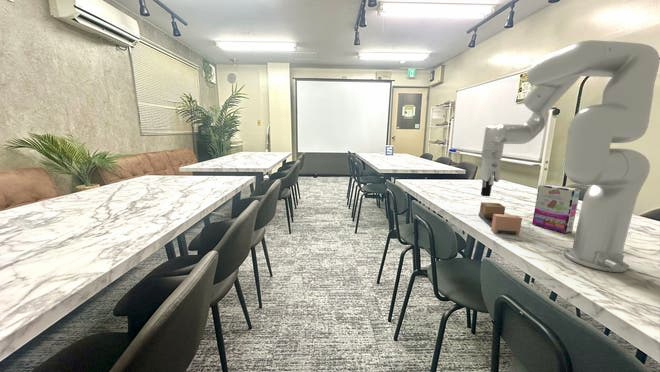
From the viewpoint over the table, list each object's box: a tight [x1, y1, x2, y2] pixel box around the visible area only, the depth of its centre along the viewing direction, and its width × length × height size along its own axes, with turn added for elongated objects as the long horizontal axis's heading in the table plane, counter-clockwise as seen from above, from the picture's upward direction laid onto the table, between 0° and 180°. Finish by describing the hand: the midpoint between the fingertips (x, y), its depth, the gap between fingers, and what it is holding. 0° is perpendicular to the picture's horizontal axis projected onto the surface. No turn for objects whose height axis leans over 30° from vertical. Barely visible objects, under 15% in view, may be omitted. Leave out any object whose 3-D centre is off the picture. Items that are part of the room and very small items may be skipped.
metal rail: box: [478, 211, 517, 236], centre depth 102 cm, size 22×6×2 cm, turn 166°
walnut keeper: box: [479, 201, 506, 218], centre depth 106 cm, size 6×7×5 cm
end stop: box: [490, 214, 523, 237], centre depth 92 cm, size 3×8×6 cm, turn 76°
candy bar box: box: [532, 184, 581, 234], centre depth 97 cm, size 11×5×16 cm, turn 25°
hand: (485, 195), depth 114 cm, fingers closed
